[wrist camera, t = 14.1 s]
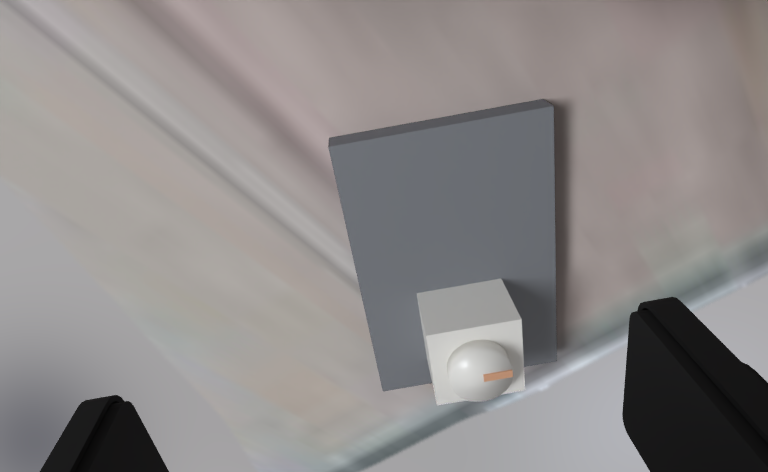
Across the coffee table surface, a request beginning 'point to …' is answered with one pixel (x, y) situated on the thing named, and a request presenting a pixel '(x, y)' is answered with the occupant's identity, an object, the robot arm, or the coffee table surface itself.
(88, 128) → the coffee table surface
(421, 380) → the flat gray board
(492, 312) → the knob
